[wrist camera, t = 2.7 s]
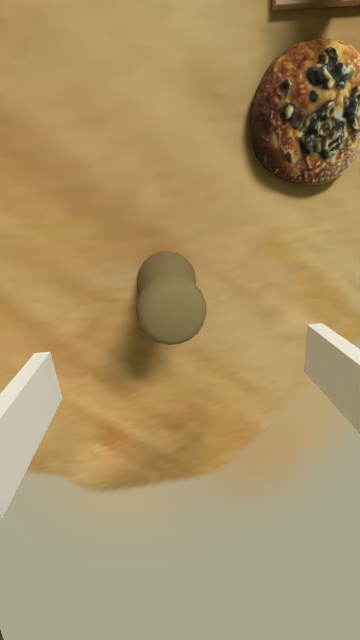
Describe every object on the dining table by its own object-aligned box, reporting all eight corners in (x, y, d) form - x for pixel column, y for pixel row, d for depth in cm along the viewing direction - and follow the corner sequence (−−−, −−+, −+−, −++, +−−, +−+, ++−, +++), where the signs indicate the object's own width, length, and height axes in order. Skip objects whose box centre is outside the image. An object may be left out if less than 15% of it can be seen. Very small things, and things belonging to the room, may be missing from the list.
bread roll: (220, 123, 26) (243, 100, 22) (307, 17, 26) (350, -31, 21) (297, 213, 30) (331, 209, 25) (375, 123, 29) (424, 102, 25)
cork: (176, 239, 30) (188, 257, 19) (206, 290, 32) (230, 330, 22) (125, 271, 30) (111, 305, 20) (157, 318, 33) (159, 371, 22)
